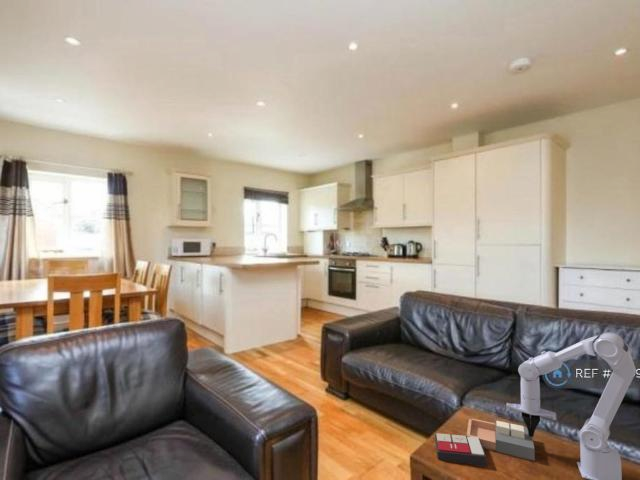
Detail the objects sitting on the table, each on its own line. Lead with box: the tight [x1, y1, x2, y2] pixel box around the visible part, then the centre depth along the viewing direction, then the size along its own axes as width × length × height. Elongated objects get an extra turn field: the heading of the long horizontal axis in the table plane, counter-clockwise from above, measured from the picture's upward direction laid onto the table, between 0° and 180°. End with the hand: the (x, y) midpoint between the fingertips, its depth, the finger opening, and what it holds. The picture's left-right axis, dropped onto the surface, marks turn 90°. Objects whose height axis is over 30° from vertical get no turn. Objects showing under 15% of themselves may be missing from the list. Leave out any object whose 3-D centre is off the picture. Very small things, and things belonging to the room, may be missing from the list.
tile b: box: [495, 420, 510, 435], centre depth 119 cm, size 4×4×2 cm
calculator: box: [434, 433, 488, 468], centre depth 113 cm, size 11×4×15 cm
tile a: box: [509, 423, 525, 439], centre depth 117 cm, size 4×4×2 cm
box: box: [466, 417, 496, 452], centre depth 123 cm, size 9×14×3 cm, turn 152°
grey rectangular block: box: [495, 423, 536, 462], centre depth 118 cm, size 11×14×4 cm
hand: (530, 435), depth 116 cm, fingers closed
